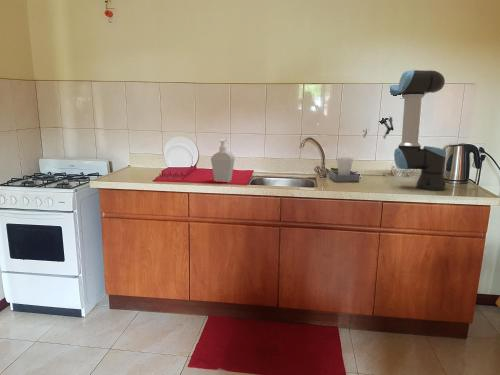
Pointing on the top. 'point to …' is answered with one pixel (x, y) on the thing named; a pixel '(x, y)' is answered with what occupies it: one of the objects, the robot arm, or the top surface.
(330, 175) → the tray
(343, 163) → the foam cup
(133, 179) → the top surface
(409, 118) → the robot arm
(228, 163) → the soap bottle
